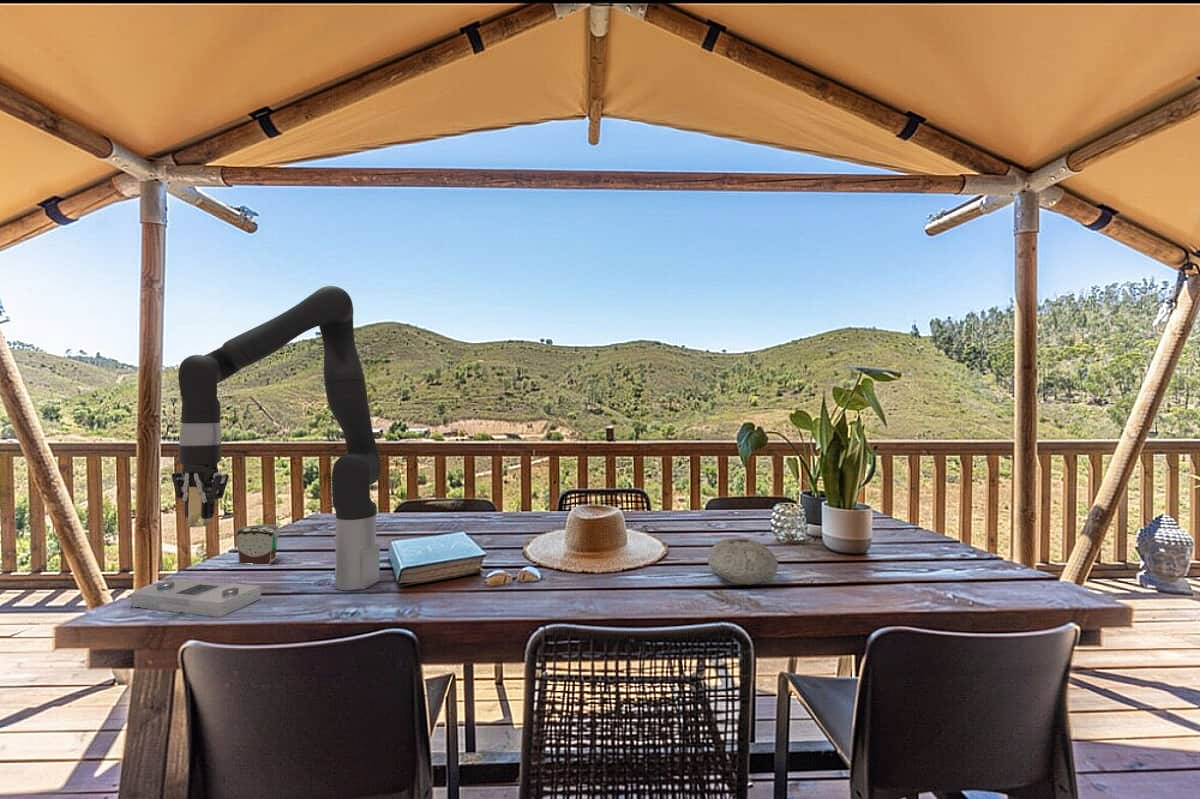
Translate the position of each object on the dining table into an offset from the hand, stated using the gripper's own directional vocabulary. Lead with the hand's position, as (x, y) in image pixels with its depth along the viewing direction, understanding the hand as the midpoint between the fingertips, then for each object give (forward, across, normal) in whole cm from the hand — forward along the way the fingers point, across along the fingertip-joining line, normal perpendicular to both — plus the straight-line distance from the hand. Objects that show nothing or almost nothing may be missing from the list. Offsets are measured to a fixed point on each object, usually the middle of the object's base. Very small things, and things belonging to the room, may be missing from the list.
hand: (199, 517), depth 113 cm
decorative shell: (+19, -123, -44) cm, 132 cm away
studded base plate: (+19, 0, 0) cm, 19 cm away
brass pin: (+2, 0, 0) cm, 2 cm away
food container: (+20, +11, -28) cm, 36 cm away
